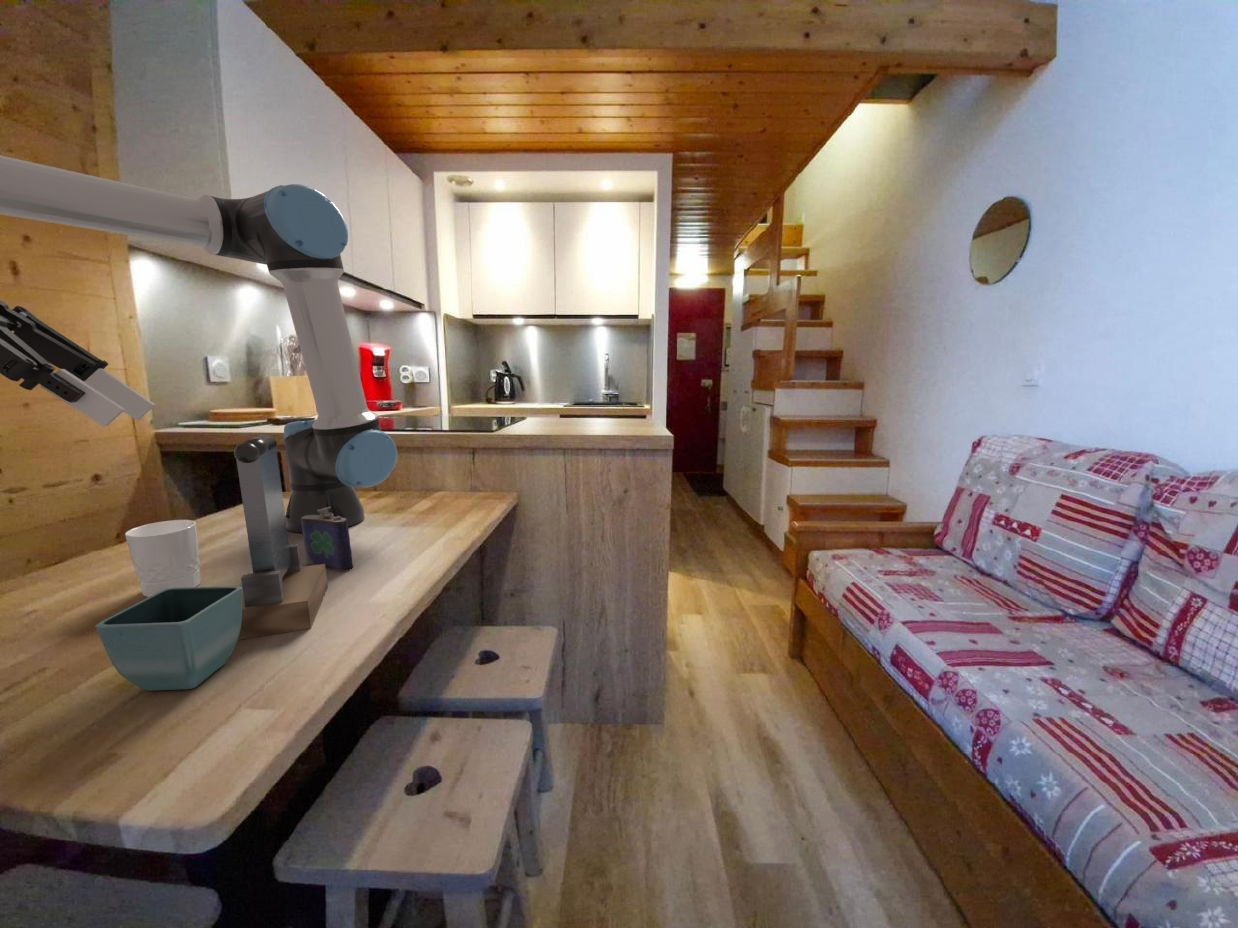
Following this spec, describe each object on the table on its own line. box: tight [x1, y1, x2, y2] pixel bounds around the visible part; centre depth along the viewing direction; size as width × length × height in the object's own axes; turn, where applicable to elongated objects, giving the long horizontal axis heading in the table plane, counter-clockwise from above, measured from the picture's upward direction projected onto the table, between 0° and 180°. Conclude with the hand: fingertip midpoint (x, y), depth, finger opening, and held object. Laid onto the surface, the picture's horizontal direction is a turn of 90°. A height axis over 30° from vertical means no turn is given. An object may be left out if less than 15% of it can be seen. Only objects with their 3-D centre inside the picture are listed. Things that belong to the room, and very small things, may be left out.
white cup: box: [124, 519, 201, 598], centre depth 75 cm, size 8×8×10 cm
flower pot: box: [94, 585, 242, 691], centre depth 54 cm, size 9×9×9 cm
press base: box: [237, 543, 329, 641], centre depth 68 cm, size 10×13×8 cm
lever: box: [233, 433, 291, 578], centre depth 65 cm, size 3×9×21 cm, turn 22°
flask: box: [301, 507, 354, 572], centre depth 84 cm, size 9×3×11 cm, turn 74°
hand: (131, 414), depth 59 cm, fingers open, 6 cm apart
